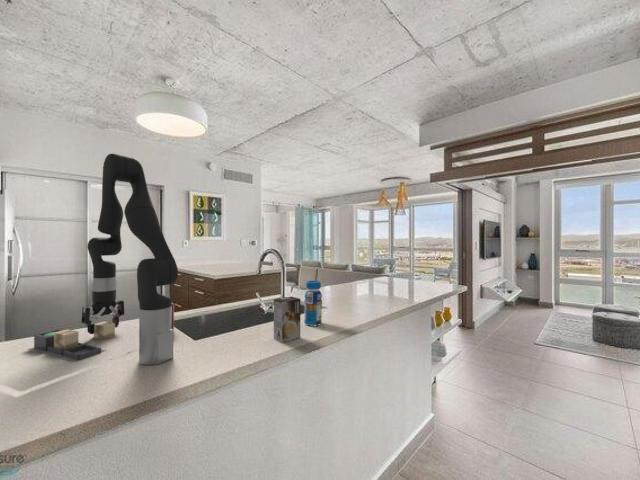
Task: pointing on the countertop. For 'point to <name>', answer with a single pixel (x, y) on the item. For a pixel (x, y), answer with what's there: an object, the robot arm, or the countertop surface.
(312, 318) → the beverage bottle
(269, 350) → the countertop surface
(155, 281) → the robot arm
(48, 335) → the button
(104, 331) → the loose billet
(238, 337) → the countertop surface
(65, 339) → the block
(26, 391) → the countertop surface
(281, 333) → the coffee box
